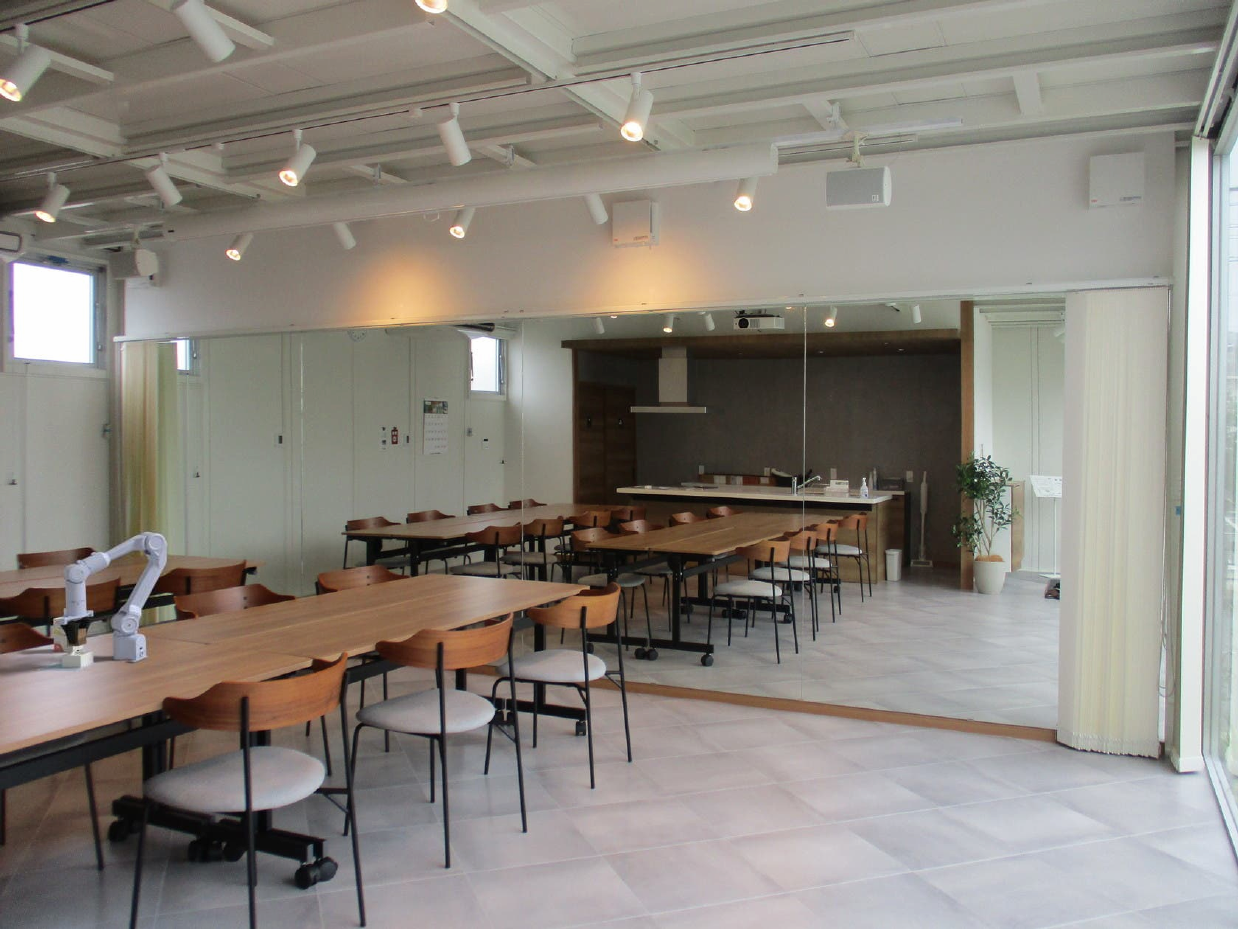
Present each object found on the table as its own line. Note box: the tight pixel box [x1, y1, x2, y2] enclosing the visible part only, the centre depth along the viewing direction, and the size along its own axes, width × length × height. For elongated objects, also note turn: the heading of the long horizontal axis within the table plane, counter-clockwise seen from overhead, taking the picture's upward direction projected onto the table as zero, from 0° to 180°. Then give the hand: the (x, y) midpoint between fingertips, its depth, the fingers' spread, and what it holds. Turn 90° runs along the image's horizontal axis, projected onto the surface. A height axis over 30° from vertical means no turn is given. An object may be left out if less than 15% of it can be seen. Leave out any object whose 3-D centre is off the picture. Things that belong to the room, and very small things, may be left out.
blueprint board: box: [34, 650, 98, 672], centre depth 304 cm, size 14×11×5 cm
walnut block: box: [67, 628, 87, 646], centre depth 306 cm, size 4×4×5 cm
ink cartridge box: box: [53, 607, 84, 653], centre depth 332 cm, size 9×5×15 cm, turn 74°
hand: (77, 642), depth 306 cm, fingers closed on walnut block, 4 cm apart
